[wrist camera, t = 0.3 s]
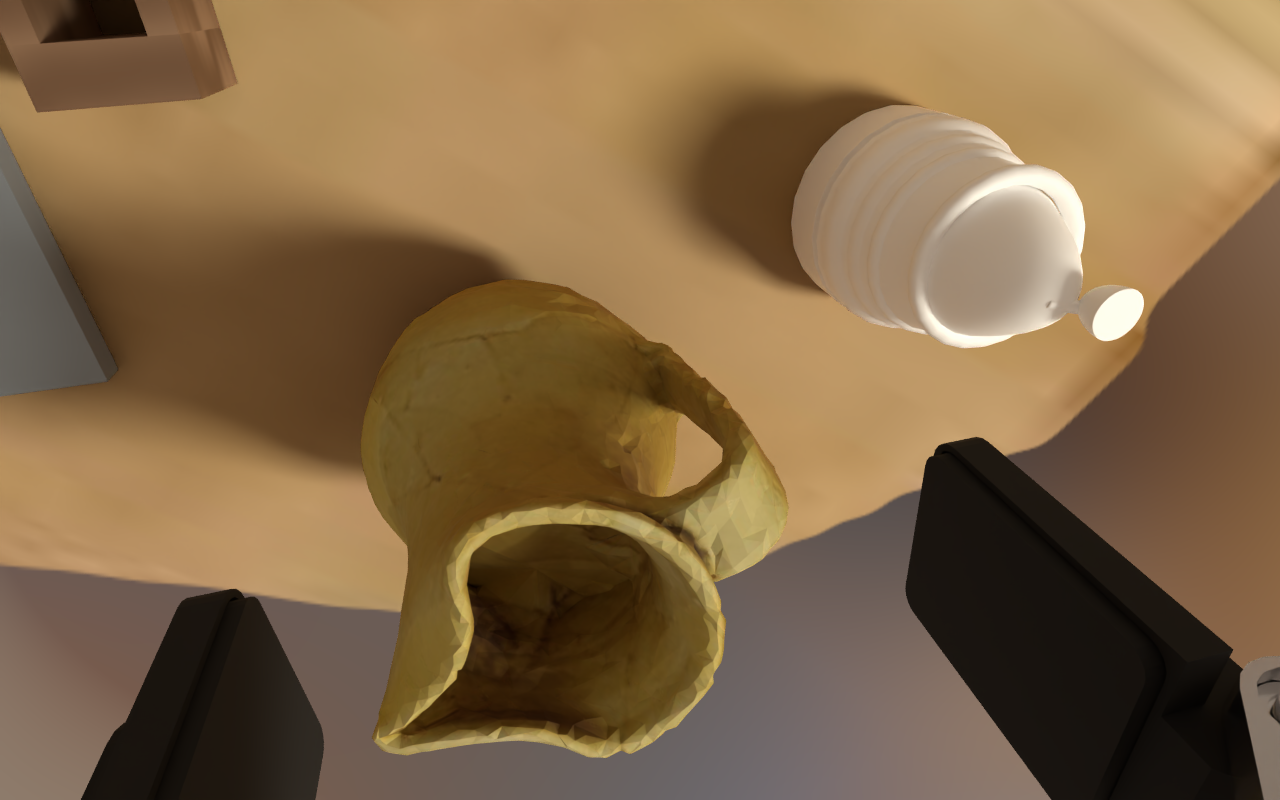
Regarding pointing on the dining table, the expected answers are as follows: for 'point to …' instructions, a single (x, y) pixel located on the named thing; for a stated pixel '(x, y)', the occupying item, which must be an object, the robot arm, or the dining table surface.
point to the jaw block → (115, 54)
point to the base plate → (40, 300)
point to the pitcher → (553, 524)
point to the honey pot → (947, 232)
